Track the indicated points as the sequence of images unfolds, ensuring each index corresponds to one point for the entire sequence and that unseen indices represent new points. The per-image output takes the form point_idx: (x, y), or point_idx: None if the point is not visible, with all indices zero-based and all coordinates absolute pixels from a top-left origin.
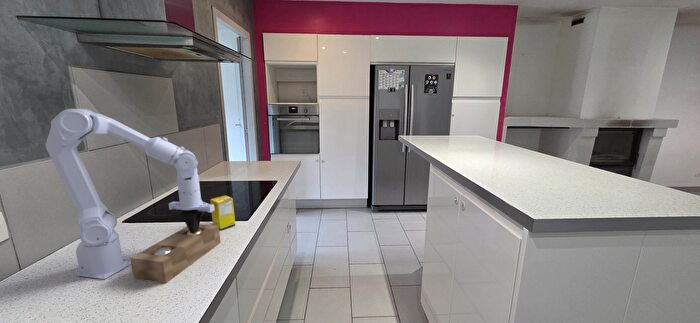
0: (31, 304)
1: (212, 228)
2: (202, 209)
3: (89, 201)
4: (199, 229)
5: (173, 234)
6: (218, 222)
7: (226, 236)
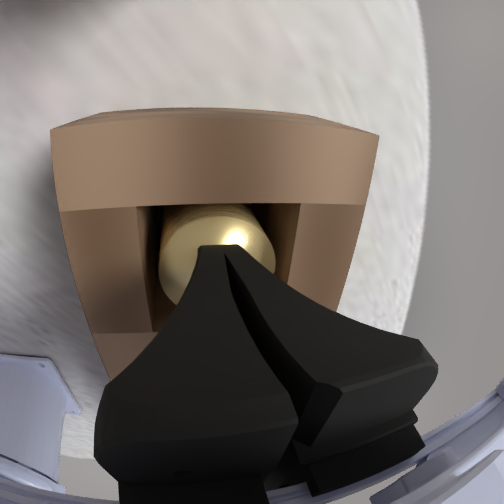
0: (63, 446)
1: (349, 192)
2: (445, 448)
3: None
4: (234, 225)
5: (102, 345)
6: None
7: (298, 28)
